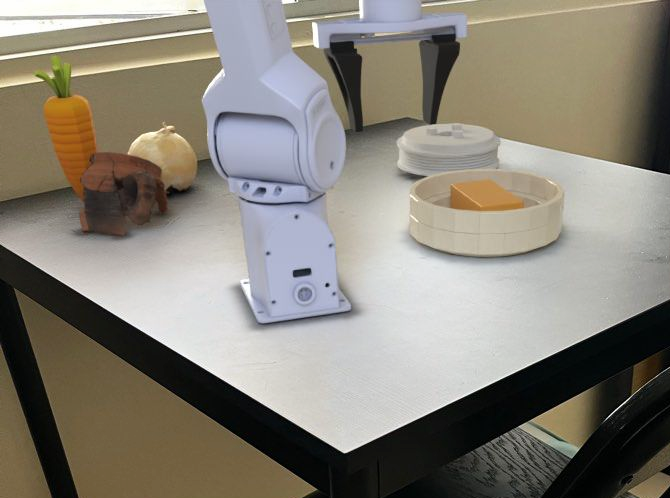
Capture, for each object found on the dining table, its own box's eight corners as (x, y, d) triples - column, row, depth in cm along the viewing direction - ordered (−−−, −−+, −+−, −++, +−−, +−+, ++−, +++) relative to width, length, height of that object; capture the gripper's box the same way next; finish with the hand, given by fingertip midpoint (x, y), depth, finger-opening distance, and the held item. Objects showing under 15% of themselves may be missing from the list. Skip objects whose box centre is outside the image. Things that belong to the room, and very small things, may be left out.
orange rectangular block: (521, 239, 86) (524, 201, 84) (480, 244, 85) (481, 206, 82) (488, 214, 92) (490, 179, 90) (449, 219, 91) (450, 183, 89)
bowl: (586, 249, 85) (591, 201, 82) (440, 269, 81) (440, 220, 78) (521, 205, 96) (524, 162, 94) (391, 221, 93) (390, 177, 90)
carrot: (99, 213, 97) (64, 61, 88) (59, 211, 98) (20, 61, 89) (119, 200, 101) (88, 53, 92) (80, 198, 102) (45, 53, 93)
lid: (468, 190, 101) (470, 144, 98) (377, 177, 107) (376, 133, 104) (516, 165, 110) (518, 122, 107) (429, 153, 115) (429, 112, 112)
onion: (192, 199, 101) (182, 133, 96) (124, 200, 101) (111, 134, 96) (206, 180, 107) (197, 117, 103) (142, 181, 107) (130, 118, 103)
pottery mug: (60, 232, 93) (65, 152, 92) (140, 252, 100) (146, 178, 99) (113, 225, 85) (120, 137, 84) (197, 247, 92) (204, 166, 91)
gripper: (448, -45, 83) (447, 111, 91) (300, -38, 79) (312, 124, 87) (477, -41, 77) (473, 125, 86) (319, -33, 74) (330, 139, 82)
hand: (393, 126), depth 86 cm, fingers open, 7 cm apart
